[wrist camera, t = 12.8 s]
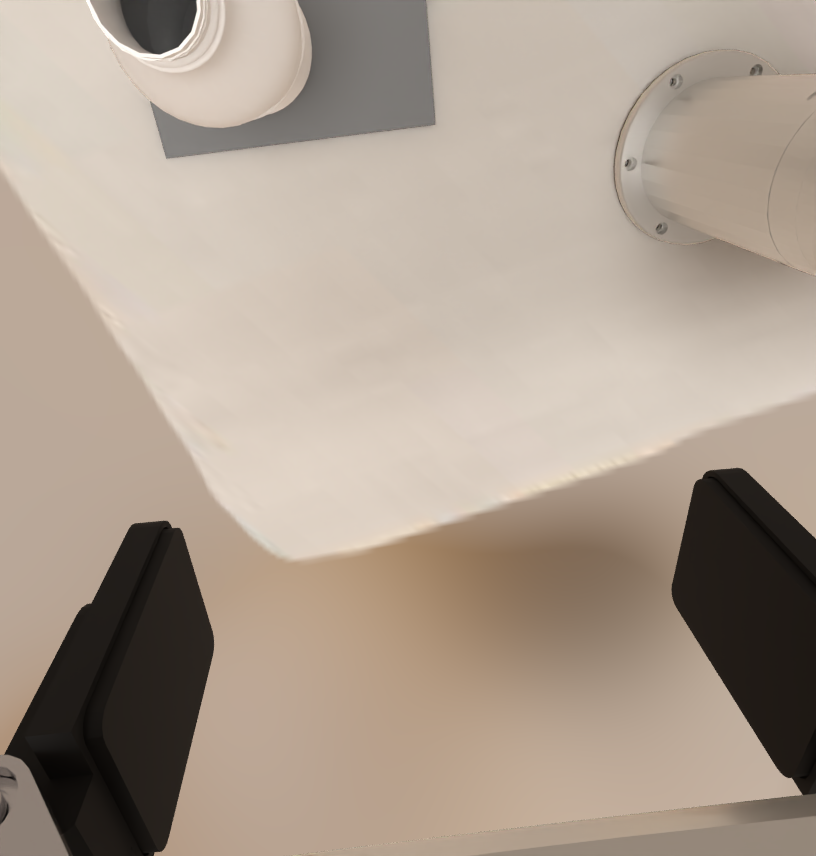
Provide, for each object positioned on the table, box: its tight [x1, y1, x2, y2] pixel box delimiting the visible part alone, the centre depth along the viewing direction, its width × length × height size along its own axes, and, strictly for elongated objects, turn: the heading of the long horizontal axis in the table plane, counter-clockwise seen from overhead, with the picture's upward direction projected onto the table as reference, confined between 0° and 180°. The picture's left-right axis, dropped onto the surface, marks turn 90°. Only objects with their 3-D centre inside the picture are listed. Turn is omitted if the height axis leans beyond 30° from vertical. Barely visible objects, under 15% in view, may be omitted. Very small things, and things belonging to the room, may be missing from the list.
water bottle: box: [86, 0, 312, 128], centre depth 27 cm, size 7×7×25 cm
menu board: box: [150, 0, 435, 159], centre depth 38 cm, size 18×11×1 cm, turn 96°
